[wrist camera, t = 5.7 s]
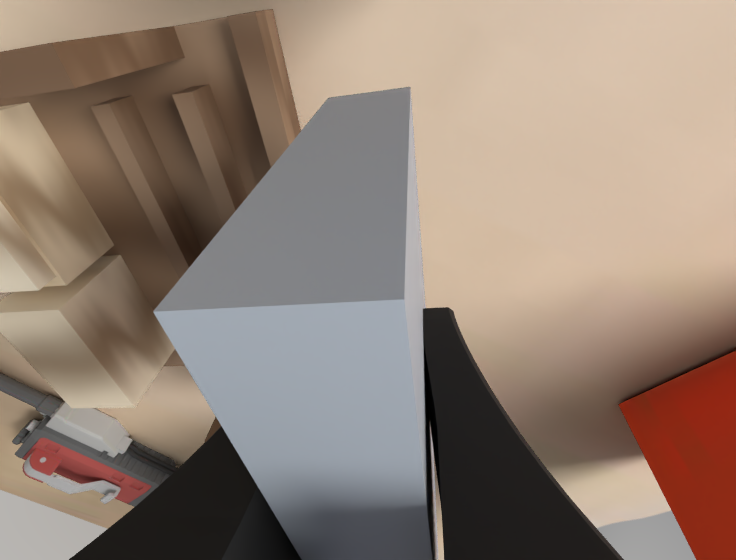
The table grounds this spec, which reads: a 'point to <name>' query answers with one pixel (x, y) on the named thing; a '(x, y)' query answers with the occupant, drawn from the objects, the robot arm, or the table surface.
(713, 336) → the table surface
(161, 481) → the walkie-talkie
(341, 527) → the grey rectangular slab
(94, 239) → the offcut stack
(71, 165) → the walnut rack
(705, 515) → the file binder
